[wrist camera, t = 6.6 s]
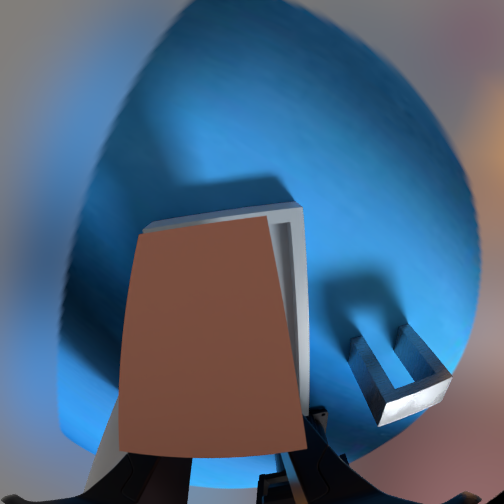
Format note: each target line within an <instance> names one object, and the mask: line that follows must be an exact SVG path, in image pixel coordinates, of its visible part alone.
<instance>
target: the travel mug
mask: <svg viewBox="0 0 504 504" xmlns="http://www.w3.org/2000/svg"><path fill="white" fill-rule="evenodd" d="M118 405H119V396H118V398H117V401H116V403H115V406H114V408H113V411H112V413H111V416H110V418H109V421H108V423H107V426H106V429H105V431H104V434H103V437H102V439H101V442H100V445H99V448H98V450H97V453H96V456H95V459H94V462H93V465H92V468H91V471H90V474H89V477H88V480H87V483H86V486H85V489H84V492H86V491H87V490H88V489H90V488H91V487H92V486H93V485H94V484H96V483H97V482H98V481H99V480H100V479H102V478H103V477H104V476H105V475H106V474H107V473H108V472H109V471H111V470H112V469H113V468H114V467H115V466H116V465H117V464H118V463H119V461H120V460H121V459H122V458H123V457H124V456H125V455H126V454H128V452H124V451H119V427H118Z"/></svg>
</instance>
